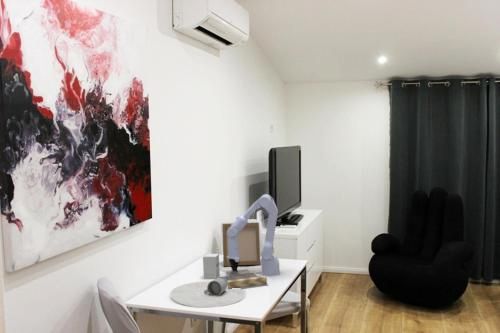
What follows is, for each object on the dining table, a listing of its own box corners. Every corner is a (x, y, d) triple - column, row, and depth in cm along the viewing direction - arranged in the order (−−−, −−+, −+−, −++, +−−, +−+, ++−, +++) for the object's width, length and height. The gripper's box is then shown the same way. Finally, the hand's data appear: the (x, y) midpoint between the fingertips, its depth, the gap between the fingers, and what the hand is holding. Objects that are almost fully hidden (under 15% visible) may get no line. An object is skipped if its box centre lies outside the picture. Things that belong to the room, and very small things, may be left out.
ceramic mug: (228, 291, 235) (227, 276, 235) (222, 297, 227) (221, 281, 227) (208, 291, 238) (207, 275, 238) (201, 296, 231) (200, 280, 230)
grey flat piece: (247, 274, 263) (246, 269, 263) (251, 278, 255) (251, 272, 255) (226, 277, 259) (225, 271, 259) (229, 281, 251) (229, 275, 251)
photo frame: (260, 266, 282) (258, 224, 280) (223, 267, 283) (221, 225, 281) (260, 259, 296) (258, 220, 295) (225, 261, 297) (223, 221, 296)
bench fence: (263, 281, 249) (263, 273, 248) (266, 284, 243) (266, 276, 243) (226, 286, 243) (226, 278, 242) (229, 289, 238) (228, 281, 237)
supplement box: (216, 280, 257) (215, 256, 256) (203, 279, 258) (202, 256, 257) (220, 276, 264) (219, 253, 263) (207, 275, 265) (206, 253, 265)
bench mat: (253, 273, 266) (253, 272, 266) (268, 286, 241) (268, 285, 241) (218, 278, 260) (218, 277, 260) (230, 291, 235) (230, 290, 235)
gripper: (223, 246, 270) (224, 269, 271) (229, 251, 256) (231, 276, 257) (235, 244, 272) (236, 268, 273) (242, 249, 258) (243, 274, 259)
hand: (234, 272), depth 265 cm, fingers closed
